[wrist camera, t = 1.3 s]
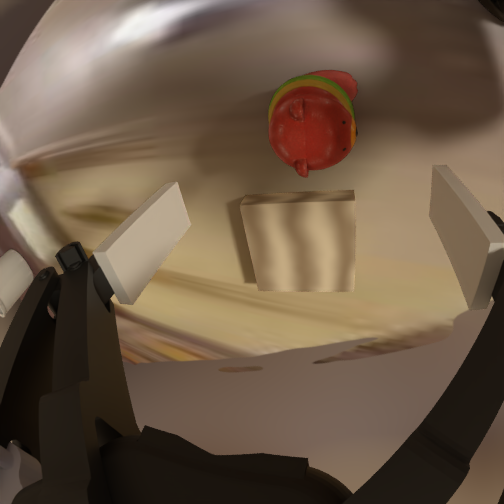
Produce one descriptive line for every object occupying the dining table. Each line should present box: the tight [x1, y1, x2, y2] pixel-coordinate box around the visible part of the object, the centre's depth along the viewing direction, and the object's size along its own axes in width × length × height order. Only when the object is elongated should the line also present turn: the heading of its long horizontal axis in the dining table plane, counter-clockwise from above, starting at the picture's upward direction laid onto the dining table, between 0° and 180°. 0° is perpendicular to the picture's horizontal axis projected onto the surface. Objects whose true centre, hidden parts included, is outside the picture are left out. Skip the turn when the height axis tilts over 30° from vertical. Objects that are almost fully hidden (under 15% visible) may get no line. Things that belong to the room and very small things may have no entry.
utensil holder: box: [0, 249, 33, 317], centre depth 71 cm, size 15×15×18 cm
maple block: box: [240, 190, 356, 292], centre depth 46 cm, size 16×16×4 cm
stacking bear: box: [268, 70, 358, 178], centre depth 28 cm, size 11×10×18 cm
